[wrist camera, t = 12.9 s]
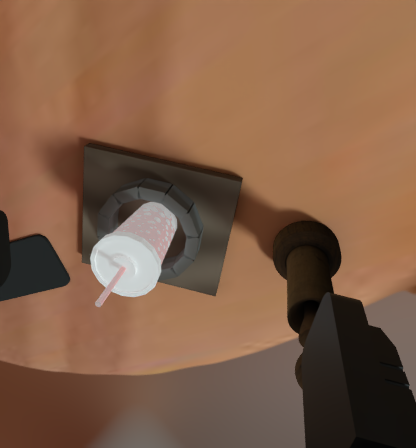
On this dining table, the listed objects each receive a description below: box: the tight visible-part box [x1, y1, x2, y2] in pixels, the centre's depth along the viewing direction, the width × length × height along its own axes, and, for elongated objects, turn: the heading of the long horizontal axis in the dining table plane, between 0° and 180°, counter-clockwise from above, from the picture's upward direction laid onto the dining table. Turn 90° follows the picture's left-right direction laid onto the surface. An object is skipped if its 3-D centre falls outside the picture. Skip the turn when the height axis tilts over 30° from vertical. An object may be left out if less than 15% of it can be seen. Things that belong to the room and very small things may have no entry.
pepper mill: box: [273, 221, 341, 389], centre depth 32 cm, size 7×6×18 cm
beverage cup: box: [90, 202, 177, 307], centre depth 34 cm, size 6×6×14 cm
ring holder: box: [82, 143, 243, 296], centre depth 40 cm, size 14×16×4 cm
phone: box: [0, 235, 70, 301], centre depth 48 cm, size 7×1×15 cm
